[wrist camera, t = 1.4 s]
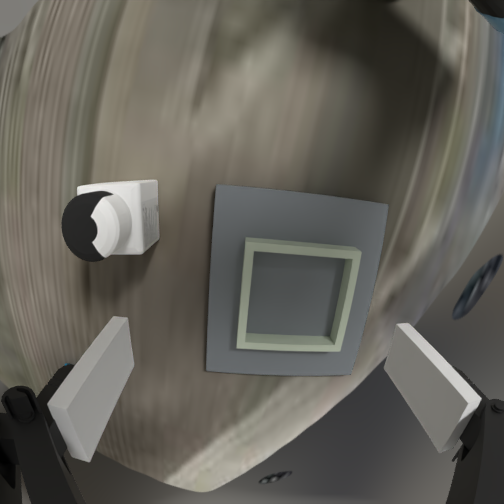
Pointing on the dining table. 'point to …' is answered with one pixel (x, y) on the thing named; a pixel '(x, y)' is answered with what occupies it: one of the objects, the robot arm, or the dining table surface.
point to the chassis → (290, 280)
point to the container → (112, 219)
